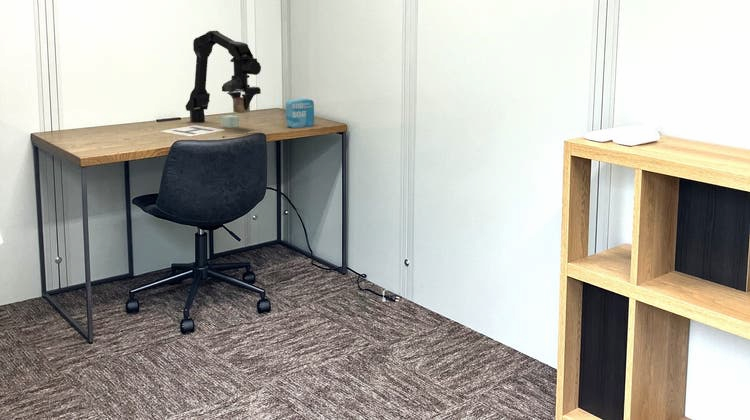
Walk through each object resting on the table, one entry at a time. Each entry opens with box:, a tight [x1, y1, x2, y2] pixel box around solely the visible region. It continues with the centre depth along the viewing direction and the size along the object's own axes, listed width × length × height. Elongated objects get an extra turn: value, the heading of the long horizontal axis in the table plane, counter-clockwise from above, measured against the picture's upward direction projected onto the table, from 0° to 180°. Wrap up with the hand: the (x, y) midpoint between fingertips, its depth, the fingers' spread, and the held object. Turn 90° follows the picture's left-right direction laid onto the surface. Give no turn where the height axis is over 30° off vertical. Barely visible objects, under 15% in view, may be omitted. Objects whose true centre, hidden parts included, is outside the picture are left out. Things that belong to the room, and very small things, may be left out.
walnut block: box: [232, 96, 251, 114], centre depth 397 cm, size 5×5×6 cm
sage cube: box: [220, 115, 240, 129], centre depth 407 cm, size 6×6×6 cm
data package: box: [285, 98, 315, 129], centre depth 412 cm, size 12×4×12 cm, turn 123°
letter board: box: [161, 124, 225, 137], centre depth 396 cm, size 20×20×1 cm
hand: (241, 109), depth 397 cm, fingers closed on walnut block, 5 cm apart
